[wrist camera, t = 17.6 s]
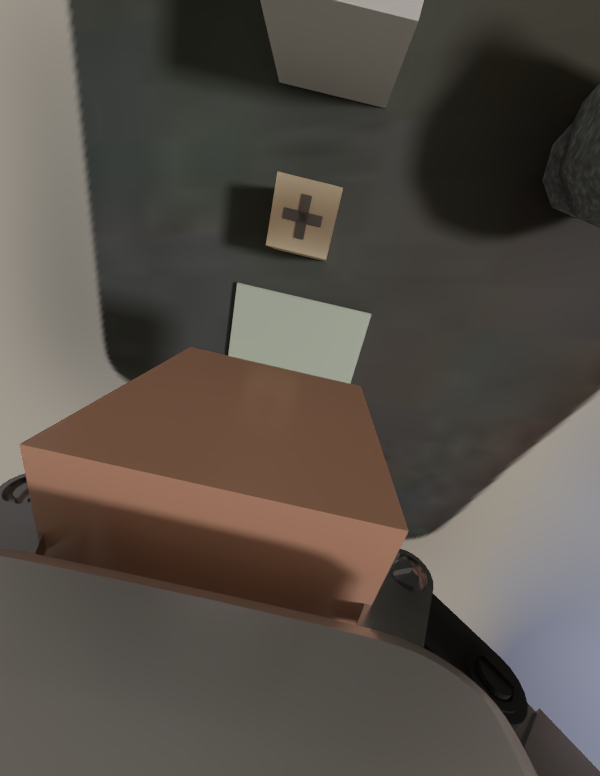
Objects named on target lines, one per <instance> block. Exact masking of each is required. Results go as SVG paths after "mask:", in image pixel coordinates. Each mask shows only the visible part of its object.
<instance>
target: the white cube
mask: <svg viewBox="0 0 600 776" xmlns="http://www.w3.org/2000/svg"><path fill="white" fill-rule="evenodd" d="M260 2H261V6H262V10H263V14H264V19H265V23H266V27H267V32H268V36H269V40H270V44H271V49H272V53H273V57H274V62H275V66H276V70H277V74H278V79H279V82H280V83H284V84H288V85H292V86H297V87H301V88H305V89H309V90H313V91H317V92H321V93H325V94H329V95H333V96H337V97H341V98H346V99H350V100H354V101H358V102H362V103H366V104H370V105H374V106H378V107H382V108H386V105H387V102H388V100H389V97H390V94H391V92H392V89H393V86H394V84H395V81H396V79H397V76H398V73H399V71H400V68H401V65H402V63H403V60H404V57H405V55H406V52H407V50H408V47H409V44H410V42H411V39H412V36H413V34H414V31H415V29H416V26H417V23H418V20H419V17H420V13H421V9H422V5H423V2H424V0H260Z"/></svg>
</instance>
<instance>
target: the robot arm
mask: <svg viewBox="0 0 600 776" xmlns="http://www.w3.org/2000/svg"><path fill="white" fill-rule="evenodd" d="M45 552H46V545H45V539H44V534H43V533H41V532H37V531H36V526H35V521H34V516H33V511H32V505H31V500H30V495H29V490H28V485H27V479H26V474H22V475H19V476H17V477H14V478H12V479H10V480H8V481H7V482H6V483H4V484H2V485H1V486H0V776H600V771H599V770H598V769H597V768H596V767H595V766H594V765H593V764H592V763H591V762H590V761H589V760H588V759H587V758H586V757H585V755H583V753H582V752H581V751H580V750H579V749H578V748H577V747H576V746H575V745H574V744H573V743H572V742H571V741H570V740H569V739H568V738H567V737H566V736H565V735H564V734H563V733H562V731H561V730H560V729H559V728H558V727H557V726H556V725H555V724H554V723H553V722H552V721H551V720H550V719H549V718H548V717H547V716H546V715H545V714H544V713H543V712H542V711H541V709H538V710H537V711H536V712H535V711H534V710H533V708H532V707H531V706H530V705H529V704H528V703H527V701H526V697H525V693H524V691H523V689H522V687H521V684H520V682H519V680H518V679H517V678H516V676H515V674H514V673H513V672H512V670H511V668H510V667H509V666H508V665H507V664H506V663H505V662H504V661H503V660H502V659H501V658H500V657H499V656H498V655H497V654H496V653H495V652H494V651H493V650H492V649H491V648H490V647H489V646H488V645H487V644H486V643H485V642H483V641H482V640H481V639H480V638H479V637H478V636H477V635H476V634H475V633H474V632H473V631H472V630H471V629H470V628H469V627H468V626H467V625H466V624H465V623H463V622H462V621H461V620H460V619H459V618H458V617H457V616H456V615H455V614H454V613H453V612H452V611H450V609H449V608H448V607H447V606H445V605H444V604H443V603H442V602H441V601H440V600H439V599H438V598H437V597H436V596H435V595H434V594H433V580H432V577H431V574H430V572H429V570H428V569H427V568H426V566H425V565H424V564H423V563H422V561H421V560H420V559H419V558H417V557H416V556H415V555H413V554H412V553H409V552H408V551H405V550H402V549H399V551H398V553H397V555H396V557H395V559H394V561H393V563H392V565H391V567H390V569H389V571H388V573H387V575H386V577H385V579H384V581H383V583H382V585H381V587H380V589H379V591H378V593H377V596H376V598H375V600H374V602H373V604H372V605H369V604H365V605H364V607H363V609H362V611H361V613H360V615H359V617H358V619H357V622H356V624H355V625H354V624H350V623H346V622H342V621H338V620H334V619H329V618H325V617H321V616H317V615H313V614H308V613H304V612H300V611H295V610H291V609H286V608H282V607H277V606H273V605H269V604H264V603H260V602H255V601H251V600H246V599H242V598H238V597H233V596H228V595H224V594H219V593H215V592H210V591H206V590H201V589H197V588H192V587H188V586H183V585H178V584H174V583H169V582H165V581H160V580H156V579H151V578H146V577H142V576H137V575H133V574H128V573H123V572H118V571H114V570H109V569H104V568H100V567H95V566H90V565H86V564H81V563H76V562H72V561H67V560H62V559H57V558H53V557H47V556H44V555H45Z"/></svg>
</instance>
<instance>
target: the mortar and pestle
mask: <svg viewBox="0 0 600 776" xmlns="http://www.w3.org/2000/svg"><path fill="white" fill-rule="evenodd" d="M542 181H543V184H544V187H545V190H546V193H547V196H548V199H549V202H550V204H551V207H552V208H554V209H556V210H558V211H561V212H563V213H565V214H568V215H570V216H572V217H575V218H579V219H581V220H583V221H586V222H588V223H590V224H593V225H595V226H597V227H600V83H599V84H598V85H597V87H596V88H595V89H594V90H593V91H592V92H591V93H590V94H589V96H588V97H587V98H586V99H585V100H584V101H583V103H582V105H581V107H580V109H579V111H578V113H577V115H576V117H575V119H574V121H573V123H572V124H571V125H570V126H569V127H568V128H567V129H566V130H565V131H564V132H563V134H562V135H561V136H560V137H559V138H558V139H557V140H556V141H555V142H554V144H553V145H552V149H551V152H550V155H549V159H548V162H547V166H546V169H545V173H544V176H543V179H542Z"/></svg>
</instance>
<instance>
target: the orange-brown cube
mask: <svg viewBox="0 0 600 776" xmlns="http://www.w3.org/2000/svg"><path fill="white" fill-rule="evenodd" d="M20 448H21V454H22V459H23V464H24V469H25V474H26V479H27V485H28V490H29V495H30V500H31V505H32V511H33V516H34V521H35V526H36V531H37V532H41V533H43V534H44V539H45V545H46V552H45V555H44V556H47V557H53V558H57V559H62V560H67V561H72V562H76V563H81V564H86V565H90V566H95V567H100V568H104V569H109V570H114V571H118V572H123V573H128V574H133V575H137V576H142V577H146V578H151V579H156V580H160V581H165V582H169V583H174V584H178V585H183V586H188V587H192V588H197V589H201V590H206V591H210V592H215V593H219V594H224V595H228V596H233V597H238V598H242V599H246V600H251V601H255V602H260V603H264V604H269V605H273V606H277V607H282V608H286V609H291V610H295V611H300V612H304V613H308V614H313V615H317V616H321V617H325V618H329V619H334V620H338V621H342V622H346V623H350V624H354V625H355V624H356V622H357V619H358V617H359V615H360V613H361V611H362V609H363V607H364V605H365V604H369V605H372V604H373V602H374V600H375V598H376V596H377V593H378V591H379V589H380V587H381V585H382V583H383V581H384V579H385V577H386V575H387V573H388V571H389V569H390V567H391V565H392V563H393V561H394V559H395V557H396V555H397V553H398V551H399V549H400V547H401V545H402V543H403V541H404V539H405V537H406V535H407V533H408V528H407V525H406V522H405V519H404V516H403V513H402V510H401V507H400V504H399V501H398V498H397V495H396V492H395V488H394V485H393V482H392V479H391V476H390V473H389V470H388V467H387V464H386V461H385V458H384V455H383V452H382V449H381V446H380V443H379V440H378V437H377V434H376V431H375V428H374V425H373V422H372V419H371V416H370V413H369V410H368V407H367V404H366V401H365V398H364V395H363V392H362V389H361V386H358V385H353V384H349V383H345V382H340V381H336V380H331V379H327V378H323V377H318V376H314V375H310V374H305V373H301V372H297V371H292V370H288V369H284V368H279V367H275V366H270V365H266V364H262V363H257V362H253V361H249V360H244V359H240V358H236V357H231V356H227V355H223V354H218V353H214V352H210V351H205V350H201V349H196V348H192V347H190V348H188V349H186V350H184V351H183V352H181V353H179V354H177V355H176V356H174V357H172V358H170V359H169V360H167V361H165V362H163V363H162V364H160V365H158V366H156V367H154V368H153V369H151V370H149V371H147V372H146V373H144V374H142V375H140V376H139V377H137V378H135V379H133V380H132V381H130V382H128V383H126V384H125V385H123V386H121V387H120V388H118V389H116V390H114V391H112V392H111V393H109V394H107V395H105V396H104V397H102V398H100V399H98V400H96V401H95V402H93V403H91V404H89V405H88V406H86V407H84V408H82V409H81V410H79V411H77V412H75V413H74V414H72V415H70V416H68V417H67V418H65V419H63V420H61V421H60V422H58V423H56V424H54V425H53V426H51V427H49V428H47V429H45V430H44V431H42V432H40V433H38V434H37V435H35V436H33V437H32V438H30V439H28V440H26V441H24V442H23V443H21V444H20Z"/></svg>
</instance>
